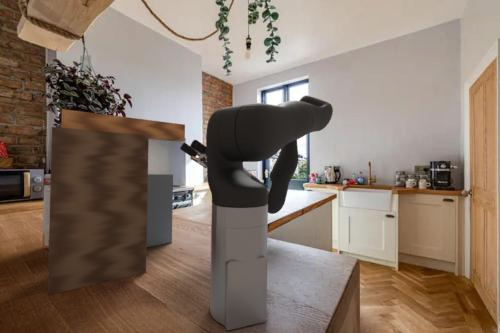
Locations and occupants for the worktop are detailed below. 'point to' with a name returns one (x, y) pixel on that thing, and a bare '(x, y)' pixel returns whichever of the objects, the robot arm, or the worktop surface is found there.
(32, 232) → the worktop surface
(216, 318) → the robot arm
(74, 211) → the walnut pedestal
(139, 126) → the brown bar
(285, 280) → the worktop surface
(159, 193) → the slate pedestal
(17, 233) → the worktop surface
